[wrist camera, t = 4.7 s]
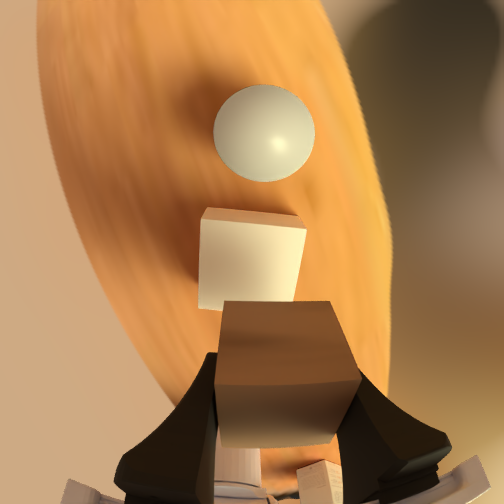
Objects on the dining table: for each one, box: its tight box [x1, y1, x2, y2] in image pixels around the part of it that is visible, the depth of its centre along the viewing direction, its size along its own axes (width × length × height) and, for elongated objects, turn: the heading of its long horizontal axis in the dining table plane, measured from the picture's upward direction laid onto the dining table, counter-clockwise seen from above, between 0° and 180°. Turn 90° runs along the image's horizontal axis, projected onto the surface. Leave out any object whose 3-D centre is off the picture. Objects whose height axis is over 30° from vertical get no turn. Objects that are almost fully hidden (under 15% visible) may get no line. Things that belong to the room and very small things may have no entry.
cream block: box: [198, 207, 307, 311], centre depth 18 cm, size 6×6×3 cm
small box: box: [296, 460, 343, 504], centre depth 31 cm, size 8×6×10 cm
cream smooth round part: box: [213, 85, 315, 182], centre depth 14 cm, size 4×4×5 cm
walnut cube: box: [214, 300, 362, 448], centre depth 12 cm, size 5×5×5 cm
